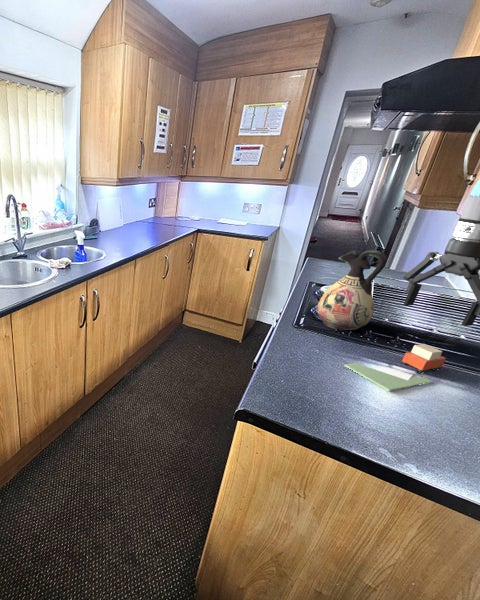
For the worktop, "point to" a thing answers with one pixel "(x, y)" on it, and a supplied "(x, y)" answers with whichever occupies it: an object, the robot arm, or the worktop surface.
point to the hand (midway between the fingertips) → (435, 314)
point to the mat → (386, 378)
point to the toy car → (424, 358)
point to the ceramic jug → (351, 294)
